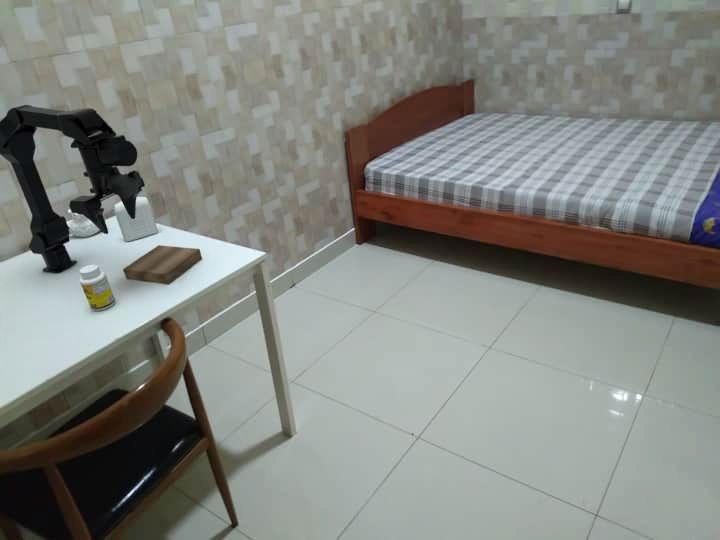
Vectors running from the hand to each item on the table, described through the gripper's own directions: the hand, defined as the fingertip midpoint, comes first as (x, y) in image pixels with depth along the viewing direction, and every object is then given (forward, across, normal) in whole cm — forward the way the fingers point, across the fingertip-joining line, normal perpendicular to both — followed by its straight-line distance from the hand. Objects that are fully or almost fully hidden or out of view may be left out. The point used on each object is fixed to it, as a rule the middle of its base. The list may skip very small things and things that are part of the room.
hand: (120, 225), depth 128 cm
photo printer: (+15, +22, +18) cm, 32 cm away
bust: (+14, +20, +38) cm, 46 cm away
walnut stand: (+15, +5, -5) cm, 16 cm away
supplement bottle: (+15, -14, -2) cm, 20 cm away
